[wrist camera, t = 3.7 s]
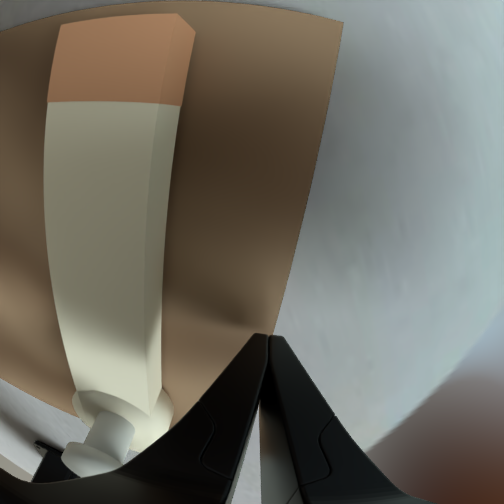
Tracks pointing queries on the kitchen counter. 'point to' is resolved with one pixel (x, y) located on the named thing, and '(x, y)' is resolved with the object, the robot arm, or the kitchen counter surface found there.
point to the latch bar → (113, 221)
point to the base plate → (177, 189)
